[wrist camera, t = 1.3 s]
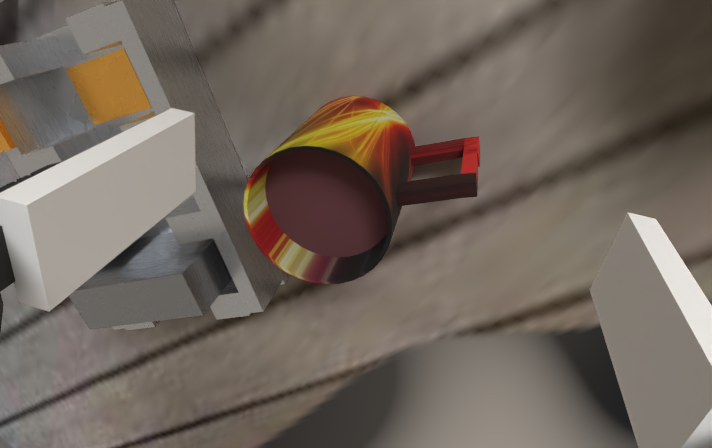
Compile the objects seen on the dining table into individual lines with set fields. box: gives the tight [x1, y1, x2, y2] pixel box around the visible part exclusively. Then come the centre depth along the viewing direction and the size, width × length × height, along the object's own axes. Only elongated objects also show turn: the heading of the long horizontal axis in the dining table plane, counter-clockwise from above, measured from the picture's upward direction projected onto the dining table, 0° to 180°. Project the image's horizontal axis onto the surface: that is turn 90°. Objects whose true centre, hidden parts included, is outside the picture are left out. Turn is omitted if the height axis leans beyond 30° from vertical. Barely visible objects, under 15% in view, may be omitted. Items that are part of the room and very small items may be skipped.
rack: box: [0, 0, 288, 330], centre depth 42 cm, size 27×17×10 cm, turn 17°
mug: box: [243, 96, 480, 284], centre depth 35 cm, size 10×14×12 cm
